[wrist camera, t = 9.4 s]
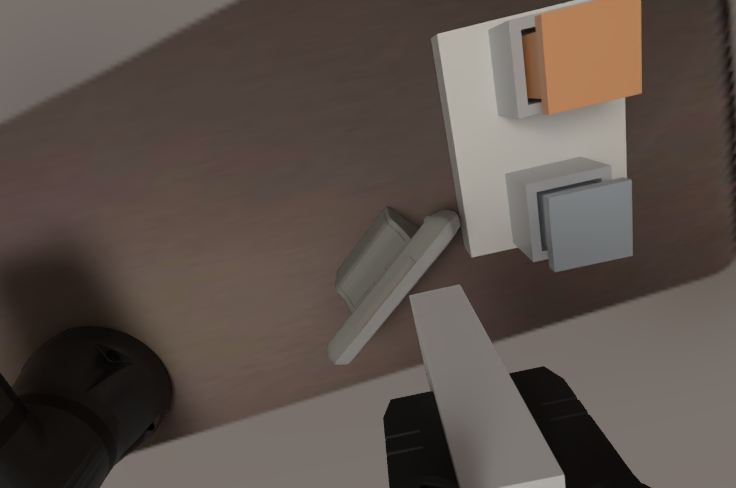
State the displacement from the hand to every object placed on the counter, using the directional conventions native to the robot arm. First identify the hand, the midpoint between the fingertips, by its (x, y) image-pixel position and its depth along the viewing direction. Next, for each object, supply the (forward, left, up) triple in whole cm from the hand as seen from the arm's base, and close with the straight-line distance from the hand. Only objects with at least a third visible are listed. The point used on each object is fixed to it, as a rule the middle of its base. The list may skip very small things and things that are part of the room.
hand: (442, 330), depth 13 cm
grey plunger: (+14, -6, -27) cm, 31 cm away
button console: (+14, 0, -30) cm, 33 cm away
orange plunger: (+14, +6, -26) cm, 30 cm away
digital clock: (-1, -10, -31) cm, 32 cm away
